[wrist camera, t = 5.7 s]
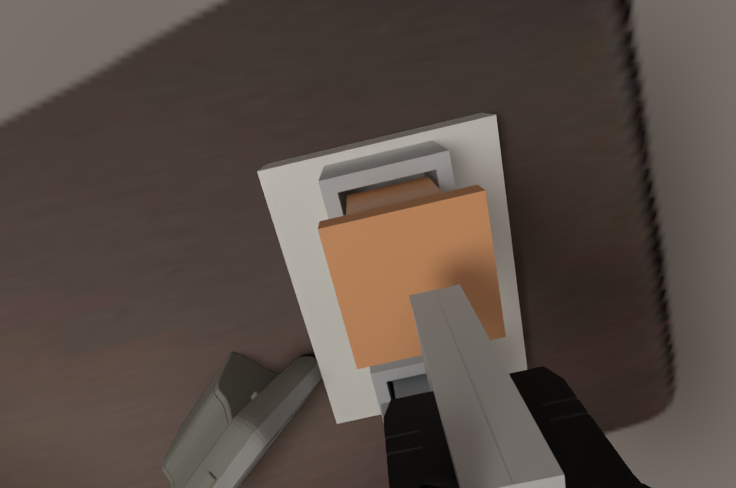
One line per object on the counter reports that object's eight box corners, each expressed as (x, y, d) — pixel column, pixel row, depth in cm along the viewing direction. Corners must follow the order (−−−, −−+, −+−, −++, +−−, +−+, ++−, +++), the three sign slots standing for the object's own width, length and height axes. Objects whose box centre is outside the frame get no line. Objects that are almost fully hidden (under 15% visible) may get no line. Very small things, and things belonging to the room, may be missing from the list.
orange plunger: (354, 284, 25) (357, 369, 17) (328, 184, 23) (317, 228, 15) (457, 261, 24) (505, 336, 17) (439, 158, 22) (485, 190, 15)
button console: (338, 397, 36) (334, 478, 28) (266, 164, 29) (237, 188, 22) (514, 359, 35) (559, 431, 28) (481, 112, 29) (528, 119, 21)
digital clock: (225, 488, 39) (182, 626, 29) (143, 433, 37) (64, 562, 26) (353, 381, 36) (354, 494, 26) (271, 313, 33) (237, 408, 23)
